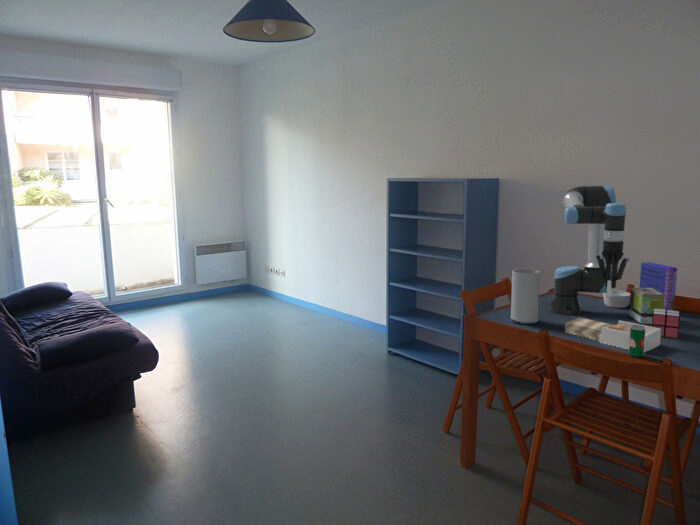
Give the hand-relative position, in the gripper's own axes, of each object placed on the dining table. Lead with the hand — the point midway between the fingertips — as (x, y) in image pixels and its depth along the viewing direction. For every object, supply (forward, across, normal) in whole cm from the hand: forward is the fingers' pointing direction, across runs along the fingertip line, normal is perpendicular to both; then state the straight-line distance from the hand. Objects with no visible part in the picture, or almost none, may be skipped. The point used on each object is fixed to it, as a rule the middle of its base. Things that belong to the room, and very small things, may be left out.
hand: (609, 295), depth 215 cm
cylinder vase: (+20, -39, -3) cm, 44 cm away
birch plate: (+20, -8, 0) cm, 21 cm away
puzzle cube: (+20, +13, +25) cm, 34 cm away
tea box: (+20, -2, +42) cm, 46 cm away
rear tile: (+16, +3, 0) cm, 16 cm away
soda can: (+20, +17, -12) cm, 29 cm away
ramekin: (+20, -24, +59) cm, 66 cm away
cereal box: (+20, -6, +63) cm, 66 cm away
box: (+19, +9, 0) cm, 22 cm away
